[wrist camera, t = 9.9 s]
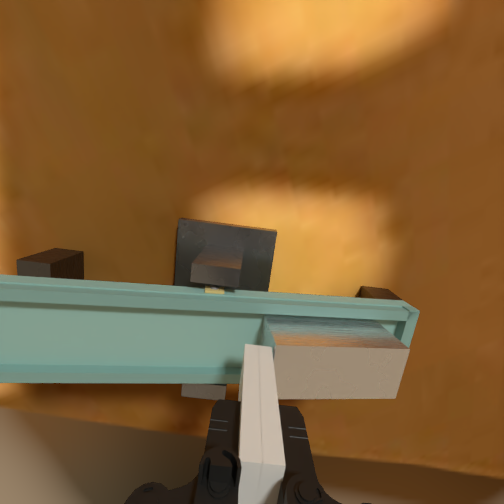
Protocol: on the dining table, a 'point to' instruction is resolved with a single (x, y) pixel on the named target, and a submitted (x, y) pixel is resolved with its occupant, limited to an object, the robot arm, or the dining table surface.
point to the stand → (196, 268)
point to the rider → (333, 357)
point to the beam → (152, 329)
